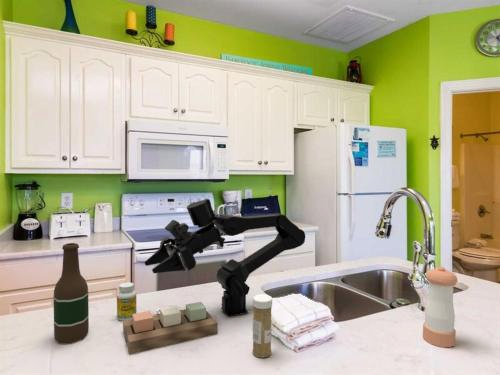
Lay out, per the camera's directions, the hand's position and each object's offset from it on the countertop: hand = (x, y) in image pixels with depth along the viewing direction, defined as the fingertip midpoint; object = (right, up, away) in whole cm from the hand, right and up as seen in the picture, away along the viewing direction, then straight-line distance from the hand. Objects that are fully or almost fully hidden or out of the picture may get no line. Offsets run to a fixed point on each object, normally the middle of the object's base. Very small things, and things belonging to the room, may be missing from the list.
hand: (148, 267), depth 87 cm
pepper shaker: (+76, -19, -2) cm, 78 cm away
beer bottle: (-19, -17, -3) cm, 26 cm away
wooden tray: (+6, -17, 0) cm, 18 cm away
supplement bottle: (-9, -17, +9) cm, 21 cm away
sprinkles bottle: (+30, -18, -9) cm, 36 cm away
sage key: (+12, -14, +3) cm, 19 cm away
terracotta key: (0, -14, -4) cm, 15 cm away
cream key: (+6, -14, 0) cm, 15 cm away
